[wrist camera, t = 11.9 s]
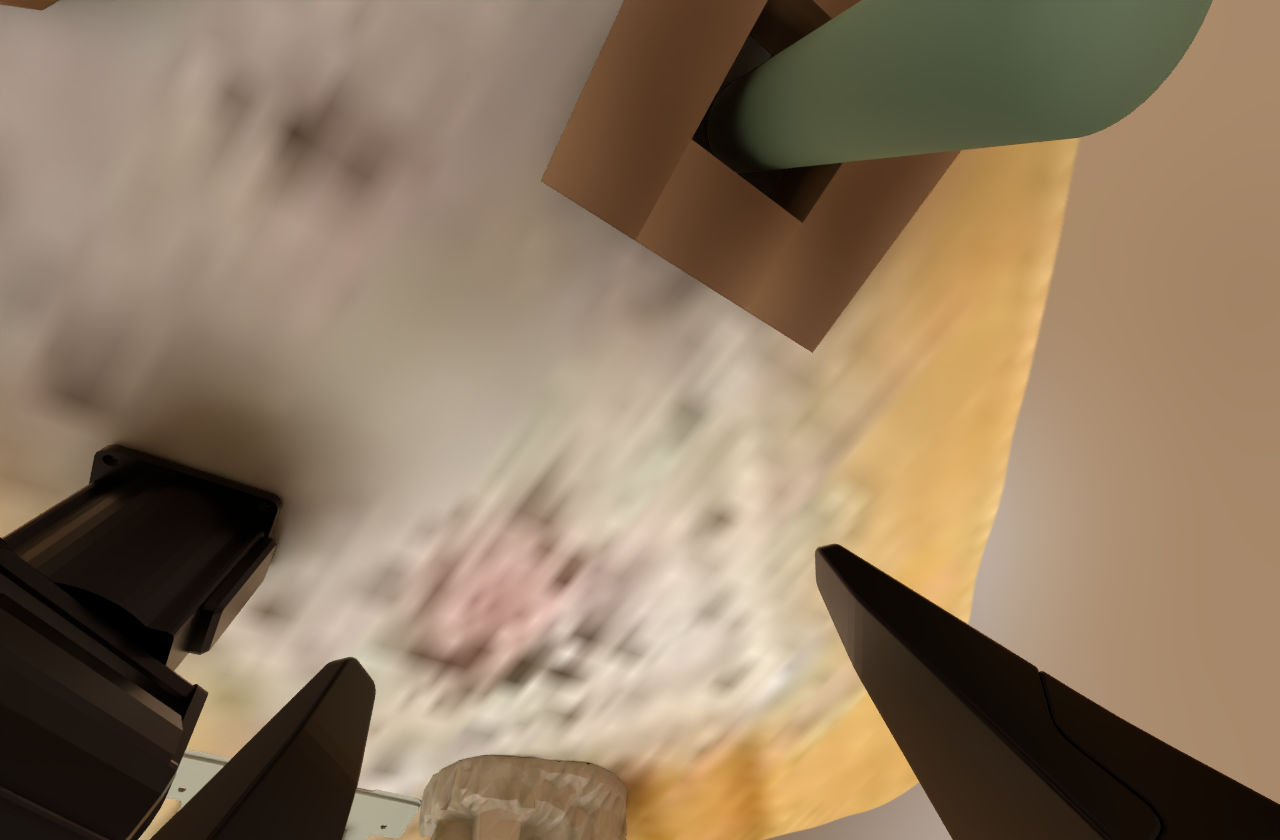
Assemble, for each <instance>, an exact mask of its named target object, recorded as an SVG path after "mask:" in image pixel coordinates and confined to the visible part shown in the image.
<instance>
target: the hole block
mask: <svg viewBox="0 0 1280 840" xmlns="http://www.w3.org/2000/svg"><path fill="white" fill-rule="evenodd" d="M860 1H861V0H624V2H623V4H622V7H621V9H620V11H619V13H618V15H617V17H616V20H615V22H614V24H613V26H612V28H611V30H610V33H609V35H608V37H607V39H606V41H605V43H604V46H603V48H602V50H601V52H600V54H599V56H598V58H597V61H596V63H595V65H594V67H593V69H592V71H591V74H590V76H589V78H588V80H587V82H586V84H585V87H584V89H583V91H582V93H581V95H580V97H579V100H578V102H577V104H576V106H575V108H574V110H573V112H572V115H571V117H570V119H569V121H568V123H567V125H566V128H565V130H564V132H563V134H562V136H561V138H560V141H559V143H558V145H557V147H556V149H555V151H554V154H553V156H552V158H551V160H550V162H549V164H548V167H547V169H546V171H545V173H544V175H543V177H542V179H541V181H542V182H543V183H545V184H547V185H548V186H550V187H551V188H553V189H555V190H556V191H558V192H559V193H561V194H562V195H564V196H566V197H567V198H569V199H570V200H572V201H574V202H575V203H577V204H578V205H580V206H581V207H583V208H585V209H586V210H588V211H589V212H591V213H592V214H594V215H596V216H597V217H599V218H600V219H602V220H604V221H605V222H607V223H608V224H610V225H611V226H613V227H615V228H616V229H618V230H619V231H621V232H622V233H624V234H626V235H627V236H629V237H630V238H632V239H634V240H635V241H637V242H638V243H640V244H641V245H643V246H645V247H646V248H648V249H649V250H651V251H653V252H654V253H656V254H657V255H659V256H660V257H662V258H664V259H665V260H667V261H668V262H670V263H671V264H673V265H675V266H676V267H678V268H679V269H681V270H683V271H684V272H686V273H687V274H689V275H690V276H692V277H694V278H695V279H697V280H698V281H700V282H701V283H703V284H705V285H706V286H708V287H709V288H711V289H713V290H714V291H716V292H717V293H719V294H720V295H722V296H724V297H725V298H727V299H728V300H730V301H732V302H733V303H735V304H736V305H738V306H739V307H741V308H743V309H744V310H746V311H747V312H749V313H750V314H752V315H754V316H755V317H757V318H758V319H760V320H762V321H763V322H765V323H766V324H768V325H769V326H771V327H773V328H774V329H776V330H777V331H779V332H780V333H782V334H784V335H785V336H787V337H788V338H790V339H792V340H793V341H795V342H796V343H798V344H799V345H801V346H803V347H804V348H806V349H807V350H809V351H811V352H812V353H813V351H814V350H815V348H816V347H817V346H818V344H819V343H820V342H821V340H822V339H823V338H824V336H825V335H826V334H827V332H828V331H829V329H830V328H831V327H832V325H833V324H834V323H835V321H836V320H837V319H838V317H839V316H840V314H841V313H842V312H843V310H844V309H845V308H846V306H847V305H848V304H849V302H850V301H851V300H852V298H853V297H854V295H855V294H856V293H857V291H858V290H859V289H860V287H861V286H862V285H863V283H864V282H865V280H866V279H867V278H868V276H869V275H870V274H871V272H872V271H873V270H874V268H875V267H876V266H877V264H878V263H879V261H880V260H881V259H882V257H883V256H884V255H885V253H886V252H887V251H888V249H889V248H890V246H891V245H892V244H893V242H894V241H895V240H896V238H897V237H898V236H899V234H900V233H901V232H902V230H903V229H904V227H905V226H906V225H907V223H908V222H909V221H910V219H911V218H912V217H913V215H914V214H915V212H916V211H917V210H918V208H919V207H920V206H921V204H922V203H923V202H924V200H925V199H926V198H927V196H928V195H929V193H930V192H931V191H932V189H933V188H934V187H935V185H936V184H937V183H938V181H939V180H940V178H941V177H942V176H943V174H944V173H945V172H946V170H947V169H948V168H949V166H950V165H951V164H952V162H953V161H954V159H955V158H956V157H957V155H958V154H959V153H960V151H961V150H957V151H947V152H938V153H928V154H919V155H909V156H900V157H890V158H881V159H871V160H862V161H852V162H843V163H833V164H824V165H814V166H805V167H795V168H788V169H787V171H786V172H785V174H784V175H783V177H782V179H781V180H780V182H779V183H778V185H777V187H776V188H775V190H774V191H773V193H772V195H771V196H770V198H769V197H767V196H766V195H765V194H763V193H762V192H761V191H759V190H758V189H757V188H755V187H754V186H753V185H751V184H750V183H749V182H748V181H746V180H745V179H744V178H742V177H741V176H740V175H738V174H737V173H736V172H734V171H733V170H732V169H730V168H729V167H728V166H726V165H725V164H724V163H722V162H721V161H720V160H718V159H717V158H716V157H714V156H713V155H712V154H710V153H709V152H708V151H707V150H705V149H704V148H703V147H701V146H700V145H699V144H697V143H696V142H695V141H693V140H692V137H693V135H694V133H695V132H696V130H697V128H698V126H699V124H700V122H701V121H702V119H703V117H704V115H705V113H706V112H707V110H708V108H709V106H710V104H711V102H712V101H713V99H714V97H715V95H716V93H717V92H718V90H719V88H720V86H721V84H722V82H723V81H724V79H725V77H726V75H727V73H728V72H729V70H730V68H731V66H732V64H733V63H734V61H735V59H736V57H737V55H738V53H739V52H740V50H741V48H742V46H743V44H744V43H745V41H746V39H747V37H748V35H749V34H750V35H751V36H752V37H753V38H754V39H755V40H757V41H758V42H759V43H760V44H761V45H762V46H763V47H764V48H765V49H767V50H768V51H769V52H770V53H771V54H772V55H773V56H775V55H777V54H779V53H780V52H782V51H783V50H785V49H786V48H788V47H789V46H791V45H793V44H794V43H796V42H797V41H799V40H800V39H802V38H803V37H805V36H807V35H808V34H810V33H811V32H813V31H814V30H816V29H818V28H819V27H821V26H822V25H824V24H825V23H827V22H828V21H830V20H832V19H833V18H835V17H836V16H838V15H839V14H841V13H843V12H844V11H846V10H847V9H849V8H850V7H852V6H853V5H855V4H857V3H858V2H860Z"/></svg>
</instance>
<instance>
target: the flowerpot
mask: <svg viewBox="0 0 1280 840" xmlns="http://www.w3.org/2000/svg"><path fill="white" fill-rule="evenodd" d="M56 1H58V0H0V4H1V5H8V6H15V7H22V8H29V9H36V10H43V9H45V8H46V7H48V6H50V5H51V4H53V3H55V2H56Z"/></svg>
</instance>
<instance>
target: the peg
mask: <svg viewBox="0 0 1280 840" xmlns="http://www.w3.org/2000/svg"><path fill="white" fill-rule="evenodd" d="M1211 3H1212V0H861V1H860V2H858V3H857V4H855V5H853V6H852V7H850V8H849V9H847V10H846V11H844V12H843V13H841V14H839V15H838V16H836V17H835V18H833V19H832V20H830V21H828V22H827V23H825V24H824V25H822V26H821V27H819V28H818V29H816V30H814V31H813V32H811V33H810V34H808V35H807V36H805V37H803V38H802V39H800V40H799V41H797V42H796V43H794V44H793V45H791V46H789V47H788V48H786V49H785V50H783V51H782V52H780V53H779V54H777V55H775V56H774V57H772V58H771V59H769V60H768V61H766V62H764V63H763V64H761V65H760V66H758V67H757V68H755V69H754V70H752V71H750V72H749V73H747V74H746V75H744V76H743V77H741V78H739V79H738V80H736V81H735V82H733V83H732V84H730V85H729V86H727V87H726V88H725V89H724V90H723V91H722V92H721V93H720V95H719V96H718V97H717V99H716V100H715V102H714V104H713V106H712V108H711V112H710V115H709V119H708V140H709V144H710V147H711V150H712V152H713V154H714V156H715V157H716V158H717V159H718V160H720V161H721V162H722V163H724V164H725V165H726V166H728V167H729V168H730V169H732V170H733V171H734V172H738V173H748V172H757V171H767V170H776V169H786V168H795V167H805V166H814V165H824V164H833V163H843V162H852V161H862V160H871V159H881V158H890V157H900V156H909V155H919V154H928V153H938V152H947V151H957V150H966V149H976V148H985V147H995V146H1004V145H1014V144H1023V143H1033V142H1042V141H1052V140H1061V139H1071V138H1078V137H1083V136H1086V135H1090V134H1093V133H1096V132H1098V131H1101V130H1103V129H1105V128H1107V127H1109V126H1111V125H1113V124H1115V123H1117V122H1118V121H1120V120H1121V119H1123V118H1124V117H1126V116H1127V115H1128V114H1130V113H1131V112H1132V111H1134V110H1135V109H1136V108H1137V107H1138V106H1140V105H1141V104H1142V103H1143V102H1145V100H1147V99H1148V98H1149V97H1150V96H1151V95H1152V94H1153V93H1154V92H1155V91H1156V90H1157V89H1158V88H1159V86H1160V85H1161V84H1162V83H1163V82H1164V81H1165V80H1166V78H1167V77H1168V76H1169V75H1170V74H1171V72H1172V71H1173V70H1174V68H1175V67H1176V66H1177V64H1178V63H1179V62H1180V60H1181V59H1182V57H1183V56H1184V54H1185V52H1186V51H1187V49H1188V48H1189V46H1190V45H1191V43H1192V41H1193V39H1194V38H1195V36H1196V34H1197V32H1198V31H1199V29H1200V27H1201V25H1202V23H1203V21H1204V19H1205V16H1206V14H1207V12H1208V10H1209V8H1210V5H1211Z"/></svg>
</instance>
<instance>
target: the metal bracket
mask: <svg viewBox="0 0 1280 840" xmlns="http://www.w3.org/2000/svg"><path fill="white" fill-rule="evenodd" d="M230 760H231V758H226V757H222V756H217V755H212V754H208V753H203V752H198V751H194V750H189V749H186V750H185V753H184V755H183V758H182V760H181V762H180V765H179V767H178V770H177V773H176V776H175V779H174V780H173V782H172V785H171V787H170V790H169V792H168V794H167V796H166V798H168V799H173V800H179V801H181V803H182V805H181V807H180V809H181V808H182V807H183V806H184V805H185V804H186V803H187V802H188V801H189V800H190V799H191V798H192V797H193V796H194V795H195V794H196V793H197V792H198V791H199V790H200V789H201V788H202V787H203V786H204V785H205V784H206V783H207V782H208V781H210V780H211V779H212V778H213V777H214V776H215V775H216V774H217V773H218V772H219V771H220V770H221V769H222V768H223V767H224V766H225V765H226V764H227V763H228V762H229V761H230ZM180 787H186V789H184V788H180ZM420 805H421V801H420V800H419V799H417V798H414V797H409V796H404V795H399V794H395V793H390V792H385V791H381V790H374V791H369V790H365V789H360V788H357V789H356V793H355V796H354V800H353V804H352V807H351V811H350V814H349V818H348V821H347V825H346V828H345V832H344V835H343V839H342V840H366V839H367V838H368V837H369V836H371V835H377V836H383V837H388V838H394V839H397V838H400V837H401V836H402V834H403V833H404V831H405V830H406V828H407V827H408V825H409V824H410V822H411V821H412V819H413V818H414V816H415V814H416V813H417V811H418V810H419V806H420ZM180 809H179V810H180ZM179 810H178V811H179ZM383 824H386V826H383Z"/></svg>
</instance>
